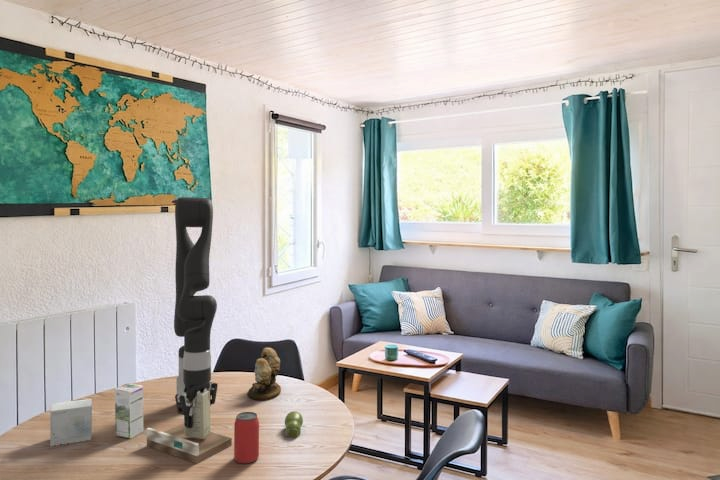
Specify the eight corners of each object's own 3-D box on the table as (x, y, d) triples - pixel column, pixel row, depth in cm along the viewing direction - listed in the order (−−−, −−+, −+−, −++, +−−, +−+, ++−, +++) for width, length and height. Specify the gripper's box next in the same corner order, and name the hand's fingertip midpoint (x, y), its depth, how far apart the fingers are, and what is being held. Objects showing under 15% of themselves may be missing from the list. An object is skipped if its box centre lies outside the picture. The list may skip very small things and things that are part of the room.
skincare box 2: (211, 432, 149) (211, 390, 148) (203, 438, 145) (203, 395, 144) (190, 429, 150) (190, 388, 150) (182, 436, 146) (182, 393, 145)
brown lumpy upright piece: (253, 384, 202) (253, 341, 201) (283, 385, 202) (284, 342, 202) (244, 400, 184) (245, 353, 183) (277, 401, 184) (278, 354, 184)
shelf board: (145, 446, 147) (145, 429, 146) (182, 429, 158) (183, 413, 158) (195, 463, 137) (195, 445, 137) (231, 445, 148) (231, 428, 148)
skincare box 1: (50, 447, 145) (49, 410, 145) (51, 438, 151) (51, 403, 150) (92, 440, 150) (91, 404, 150) (92, 432, 156) (91, 397, 155)
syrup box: (144, 431, 156) (144, 384, 156) (129, 439, 151) (129, 390, 150) (129, 428, 158) (129, 382, 158) (114, 436, 153) (114, 388, 152)
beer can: (236, 453, 143) (236, 411, 143) (260, 453, 144) (260, 410, 143) (232, 464, 137) (232, 420, 136) (257, 464, 137) (257, 420, 137)
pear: (303, 408, 163) (302, 426, 153) (303, 423, 164) (301, 442, 154) (285, 408, 163) (283, 426, 153) (285, 423, 164) (283, 442, 154)
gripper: (186, 374, 138) (186, 436, 139) (225, 361, 151) (224, 418, 152) (167, 369, 142) (167, 430, 143) (206, 357, 155) (206, 413, 155)
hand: (197, 423), depth 147 cm, fingers closed on skincare box 2, 5 cm apart
